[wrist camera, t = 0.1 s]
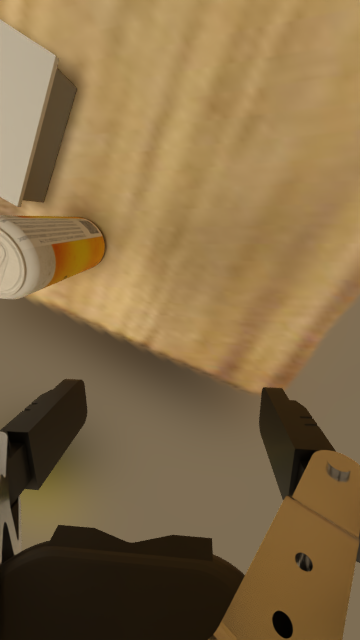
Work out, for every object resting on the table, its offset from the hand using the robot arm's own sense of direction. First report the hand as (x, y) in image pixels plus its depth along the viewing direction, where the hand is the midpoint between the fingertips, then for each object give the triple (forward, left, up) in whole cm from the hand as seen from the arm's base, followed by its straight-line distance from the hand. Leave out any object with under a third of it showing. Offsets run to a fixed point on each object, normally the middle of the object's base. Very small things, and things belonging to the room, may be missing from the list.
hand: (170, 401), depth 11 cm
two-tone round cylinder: (+2, -14, -23) cm, 27 cm away
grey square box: (-6, -26, -22) cm, 35 cm away
